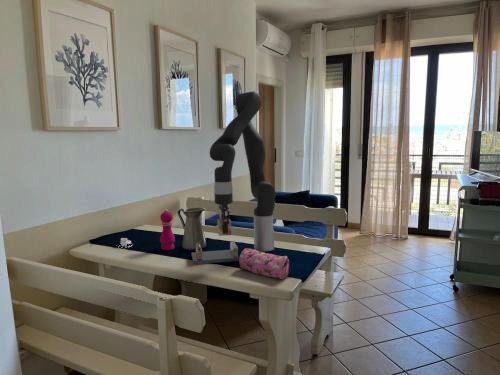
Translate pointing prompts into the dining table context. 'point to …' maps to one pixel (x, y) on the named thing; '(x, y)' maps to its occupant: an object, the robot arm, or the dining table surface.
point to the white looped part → (125, 242)
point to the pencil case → (264, 263)
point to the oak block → (220, 227)
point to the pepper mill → (167, 231)
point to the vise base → (217, 255)
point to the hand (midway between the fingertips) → (224, 231)
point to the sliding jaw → (198, 251)
